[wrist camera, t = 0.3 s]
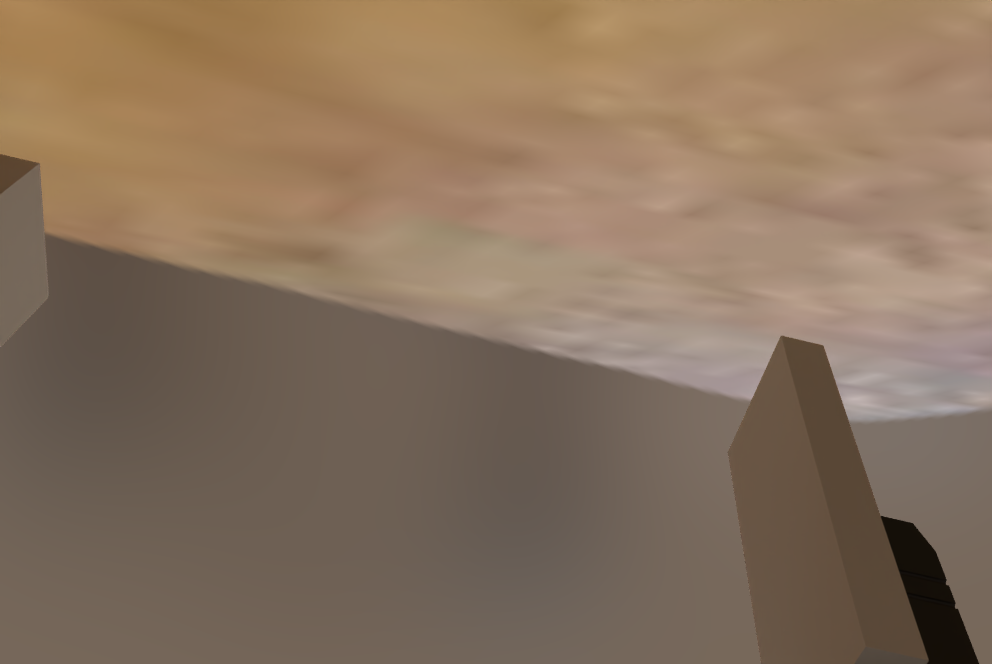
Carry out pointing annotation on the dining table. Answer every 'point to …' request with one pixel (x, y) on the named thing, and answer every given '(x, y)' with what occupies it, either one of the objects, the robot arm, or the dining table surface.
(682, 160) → the dining table surface
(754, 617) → the robot arm
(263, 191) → the dining table surface
